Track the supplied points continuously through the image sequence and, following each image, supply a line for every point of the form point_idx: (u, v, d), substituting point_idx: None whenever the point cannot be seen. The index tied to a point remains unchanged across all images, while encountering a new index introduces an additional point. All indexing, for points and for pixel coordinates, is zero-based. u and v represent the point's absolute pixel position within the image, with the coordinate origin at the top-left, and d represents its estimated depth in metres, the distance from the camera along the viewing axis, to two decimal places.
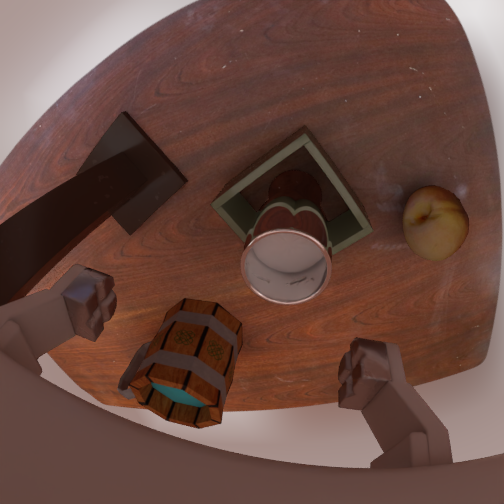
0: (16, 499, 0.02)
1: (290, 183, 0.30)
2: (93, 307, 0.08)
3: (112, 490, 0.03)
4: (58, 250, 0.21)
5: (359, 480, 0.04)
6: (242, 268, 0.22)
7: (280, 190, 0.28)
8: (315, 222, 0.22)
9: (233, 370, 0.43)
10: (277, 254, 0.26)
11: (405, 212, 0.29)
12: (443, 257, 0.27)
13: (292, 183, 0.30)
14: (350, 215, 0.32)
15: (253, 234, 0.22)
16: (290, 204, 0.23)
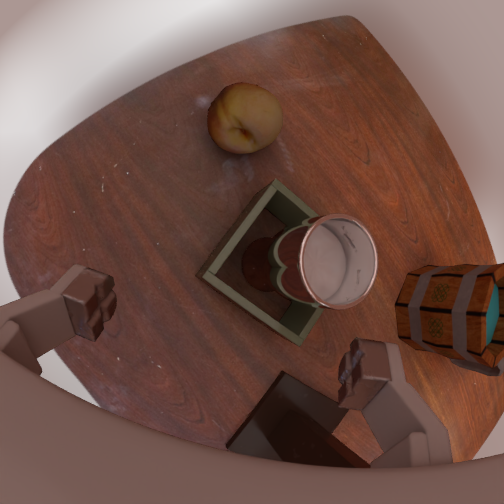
0: (16, 499, 0.02)
1: (257, 274, 0.30)
2: (93, 307, 0.08)
3: (113, 490, 0.03)
4: None
5: (359, 480, 0.04)
6: (353, 304, 0.20)
7: (266, 283, 0.28)
8: (286, 245, 0.21)
9: (454, 266, 0.36)
10: (330, 270, 0.24)
11: (246, 151, 0.30)
12: (273, 98, 0.28)
13: (256, 272, 0.30)
14: (269, 204, 0.33)
15: (316, 304, 0.20)
16: (276, 274, 0.23)
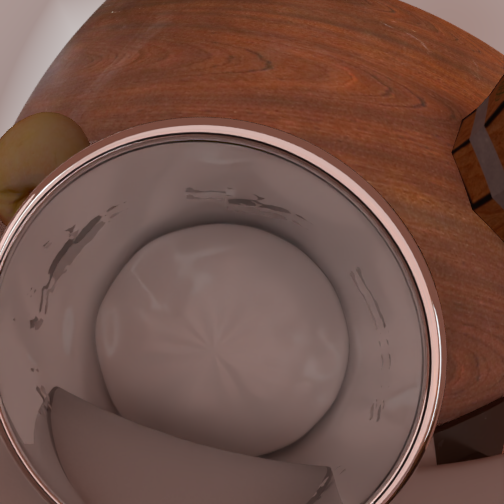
0: (16, 499, 0.02)
1: None
2: None
3: (113, 491, 0.03)
4: None
5: None
6: (390, 496, 0.03)
7: None
8: None
9: (495, 89, 0.15)
10: (277, 331, 0.07)
11: None
12: (33, 116, 0.13)
13: None
14: None
15: None
16: None
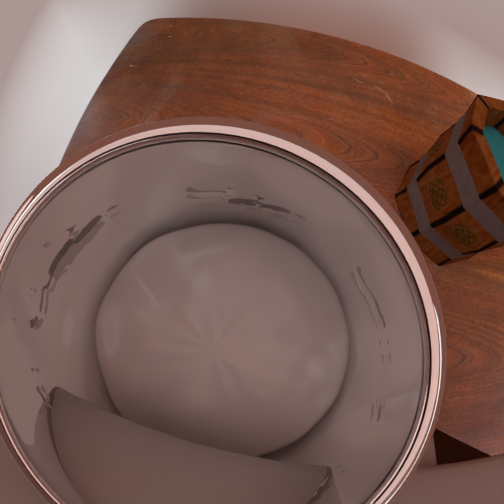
0: (16, 499, 0.02)
1: None
2: None
3: (113, 490, 0.03)
4: None
5: None
6: (390, 495, 0.03)
7: None
8: None
9: (432, 147, 0.26)
10: (277, 331, 0.07)
11: None
12: None
13: None
14: None
15: None
16: None
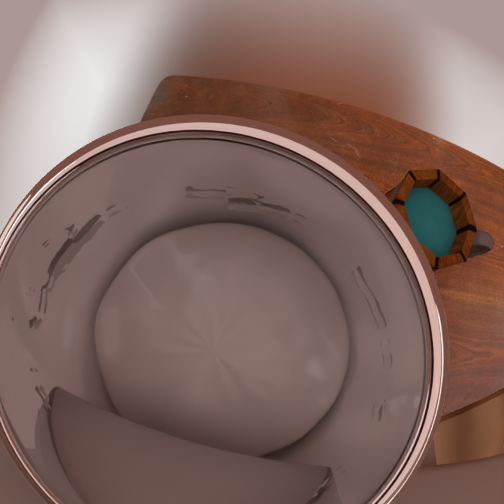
0: (16, 499, 0.02)
1: None
2: None
3: (112, 491, 0.03)
4: None
5: None
6: (392, 496, 0.02)
7: None
8: None
9: None
10: (277, 331, 0.07)
11: None
12: None
13: None
14: None
15: None
16: None
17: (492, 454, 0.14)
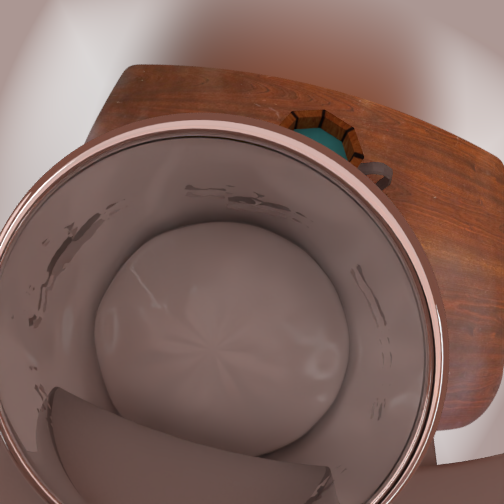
0: (16, 499, 0.02)
1: None
2: None
3: (113, 490, 0.03)
4: None
5: None
6: (392, 495, 0.02)
7: None
8: None
9: None
10: (277, 330, 0.07)
11: None
12: None
13: None
14: None
15: None
16: None
17: None
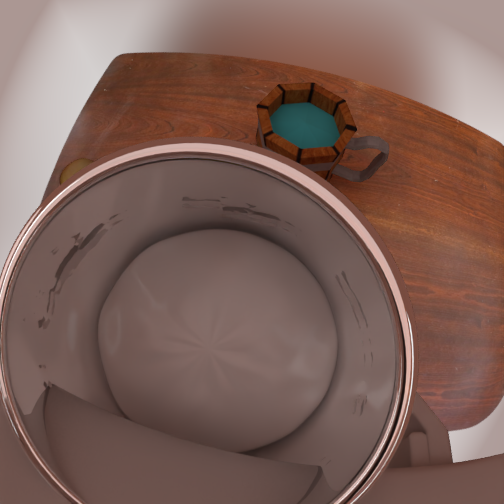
0: (16, 499, 0.02)
1: None
2: None
3: (113, 490, 0.03)
4: None
5: None
6: (367, 483, 0.03)
7: None
8: None
9: None
10: (268, 331, 0.07)
11: None
12: (79, 161, 0.44)
13: None
14: None
15: None
16: None
17: None
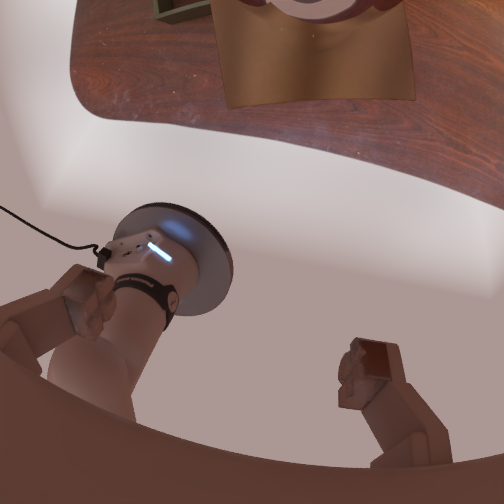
0: (16, 499, 0.02)
1: (292, 32, 0.13)
2: (93, 307, 0.08)
3: (112, 490, 0.03)
4: None
5: (360, 480, 0.04)
6: None
7: None
8: None
9: None
10: None
11: None
12: None
13: (288, 30, 0.13)
14: None
15: None
16: (256, 9, 0.07)
17: None
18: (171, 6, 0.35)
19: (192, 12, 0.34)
